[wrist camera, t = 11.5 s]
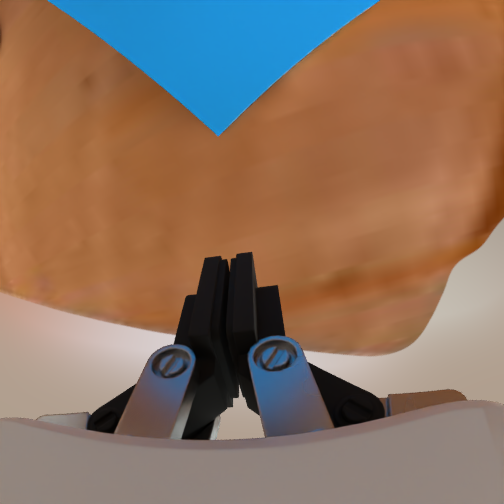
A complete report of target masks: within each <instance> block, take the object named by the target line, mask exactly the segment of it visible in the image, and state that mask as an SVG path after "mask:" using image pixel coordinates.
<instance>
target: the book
mask: <svg viewBox="0 0 504 504" xmlns="http://www.w3.org/2000/svg"><path fill="white" fill-rule="evenodd" d="M48 1H49V2H51V3H52V4H54V5H55V6H57V7H58V8H59V9H61V10H62V11H64V12H65V13H67V14H68V15H70V16H71V17H72V18H74V19H75V20H77V21H78V22H79V23H81V24H82V25H84V26H85V27H86V28H88V29H89V30H90V31H92V32H93V33H94V34H96V35H97V36H98V37H100V38H101V39H102V40H104V41H105V42H106V43H108V44H109V45H110V46H112V47H113V48H114V49H116V50H117V51H118V52H119V53H121V54H122V55H123V56H125V57H126V58H127V59H128V60H130V61H131V62H132V63H133V64H135V65H136V66H137V67H138V68H140V69H141V70H142V71H143V72H145V73H146V74H147V75H148V76H149V77H151V78H152V79H153V80H154V81H155V82H157V83H158V84H159V85H160V86H161V87H163V88H164V89H165V90H166V91H167V92H169V93H170V94H171V95H172V96H173V97H174V98H176V99H177V100H178V101H179V102H180V103H181V104H183V105H184V106H185V107H186V108H187V109H188V110H189V111H191V112H192V113H193V114H194V115H195V116H196V117H197V118H199V119H200V120H201V121H202V122H203V123H204V124H205V125H206V126H207V127H209V128H210V129H211V130H212V131H213V132H214V133H215V134H216V135H217V136H219V135H220V134H221V133H222V132H224V131H225V130H226V129H227V128H228V127H229V126H230V125H231V124H232V123H233V122H234V121H235V120H236V119H237V118H238V117H239V116H240V115H241V114H242V113H243V112H244V111H245V110H246V109H247V108H248V107H249V106H250V105H251V104H252V103H253V102H254V101H256V100H257V99H258V98H259V97H260V96H261V95H262V94H263V93H264V92H265V91H266V90H267V89H268V88H270V87H271V86H272V85H273V84H274V83H275V82H276V81H277V80H279V79H280V78H281V77H282V76H283V75H284V74H285V73H286V72H288V71H289V70H290V69H291V68H292V67H293V66H295V65H296V64H297V63H298V62H299V61H301V60H302V59H303V58H304V57H305V56H307V55H308V54H309V53H310V52H311V51H313V50H314V49H315V48H316V47H318V46H319V45H320V44H321V43H323V42H324V41H325V40H326V39H328V38H329V37H330V36H332V35H333V34H334V33H336V32H337V31H338V30H339V29H341V28H342V27H343V26H345V25H346V24H348V23H349V22H350V21H352V20H353V19H354V18H356V17H357V16H359V15H360V14H361V13H363V12H364V11H366V10H367V9H368V8H370V7H371V6H373V5H374V4H376V3H377V2H378V1H380V0H48Z"/></svg>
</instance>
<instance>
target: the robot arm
mask: <svg viewBox="0 0 504 504" xmlns="http://www.w3.org/2000/svg"><path fill="white" fill-rule="evenodd" d="M239 385H240V388H241V392H242V395H243V397H245V399H246V403H247V406H248V408H249V409H251V410H252V411H254V412H255V413H257V414H258V415H260V418H261V422H262V426H263V431H264V435H265V438H252V439H234V440H216V438H217V433H218V429H219V425H220V414H221V413H222V412H224V411H225V410H226V409H227V407H233V398H238V397H239ZM0 504H504V404H501V403H498V402H493V401H484V400H467V399H466V397H465V396H464V395H463V394H462V393H461V392H458V391H456V390H450V389H447V390H437V391H428V392H417V393H403V394H389V395H388V397H387V398H378V397H376V396H375V395H373V394H372V393H370V392H368V391H365V390H363V389H361V388H359V387H357V386H355V385H353V384H351V383H349V382H347V381H345V380H343V379H340V378H338V377H336V376H334V375H332V374H330V373H328V372H326V371H324V370H322V369H320V368H318V367H316V366H314V365H313V364H311V363H309V362H307V360H306V357H305V355H304V352H303V350H302V348H301V346H300V345H299V343H298V342H296V341H295V340H293V339H292V338H289V337H286V336H285V330H284V323H283V317H282V310H281V304H280V297H279V290H278V285H275V286H267V287H259V288H258V287H257V280H256V274H255V267H254V261H253V255H252V252H248V253H240V254H237V255H236V258H232V259H231V265H230V271H229V266H228V261H227V259H224V260H222V258H221V256H216V257H208V258H205V260H204V264H203V268H202V272H201V277H200V281H199V285H198V290H197V294H196V295H188V296H186V298H185V302H184V306H183V310H182V313H181V317H180V321H179V325H178V329H177V333H176V337H175V341H174V344H173V345H168V346H164V347H162V348H160V349H158V350H157V351H155V352H154V353H153V354H152V355H151V356H150V358H149V359H148V361H147V363H146V365H145V367H144V369H143V371H142V373H141V376H140V378H139V380H138V382H137V384H135V385H134V386H132V387H130V388H129V389H127V390H126V391H125V392H123V393H121V394H120V395H118V396H117V397H115V398H114V399H112V400H111V401H109V402H108V403H106V404H105V405H103V406H101V407H100V408H99V409H97V410H96V411H95V412H94V413H93V414H92V415H90V414H89V412H83V413H71V414H54V415H44V416H40V417H39V418H37V419H36V420H33V419H26V418H1V419H0Z"/></svg>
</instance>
